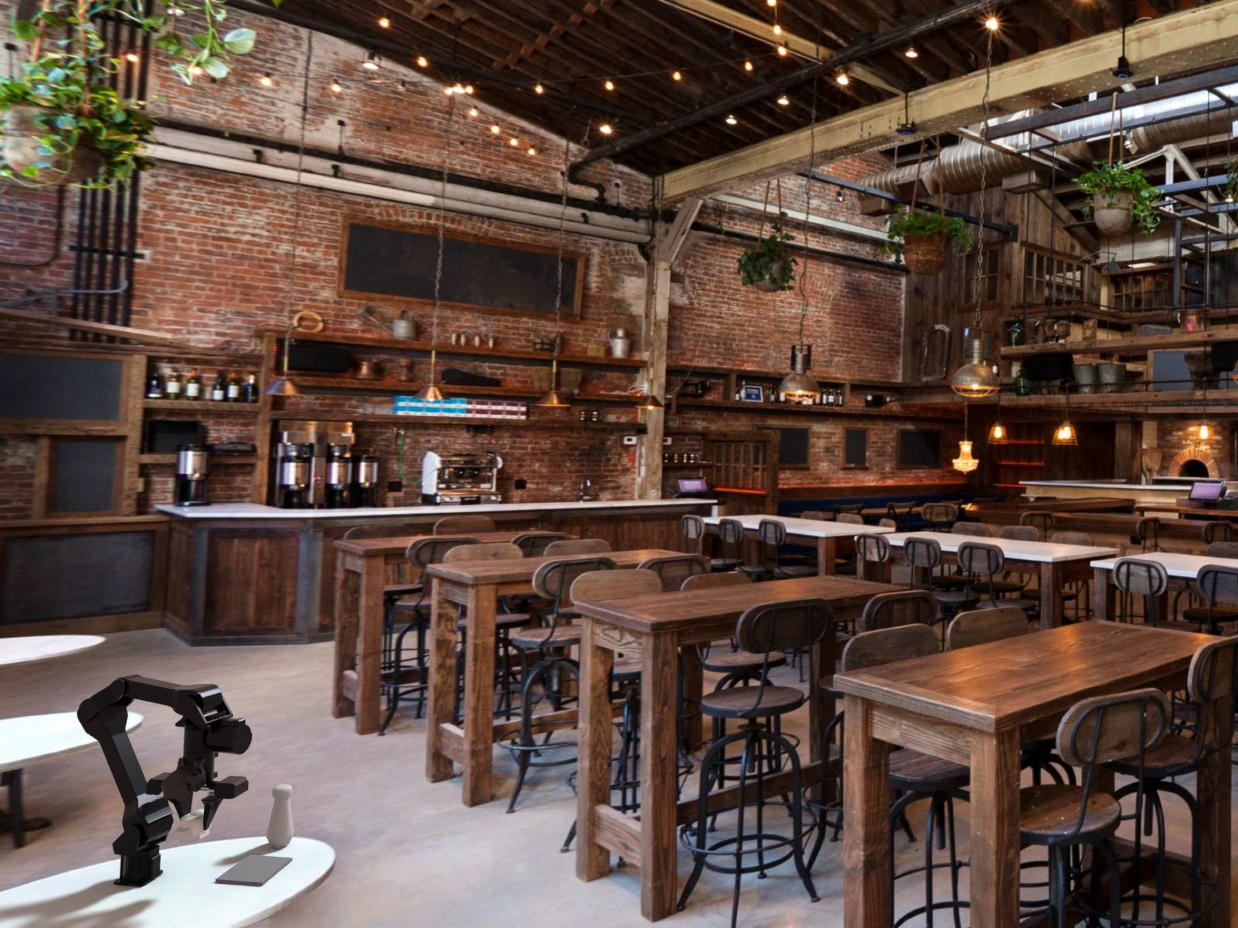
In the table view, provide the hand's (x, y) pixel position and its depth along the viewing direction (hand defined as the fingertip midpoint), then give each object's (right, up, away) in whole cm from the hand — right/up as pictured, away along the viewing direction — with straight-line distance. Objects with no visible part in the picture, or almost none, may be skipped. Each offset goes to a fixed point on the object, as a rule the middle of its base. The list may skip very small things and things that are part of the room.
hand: (195, 828), depth 164 cm
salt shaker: (+8, -13, +21) cm, 26 cm away
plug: (0, -1, 0) cm, 1 cm away
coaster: (+9, -12, +7) cm, 17 cm away
